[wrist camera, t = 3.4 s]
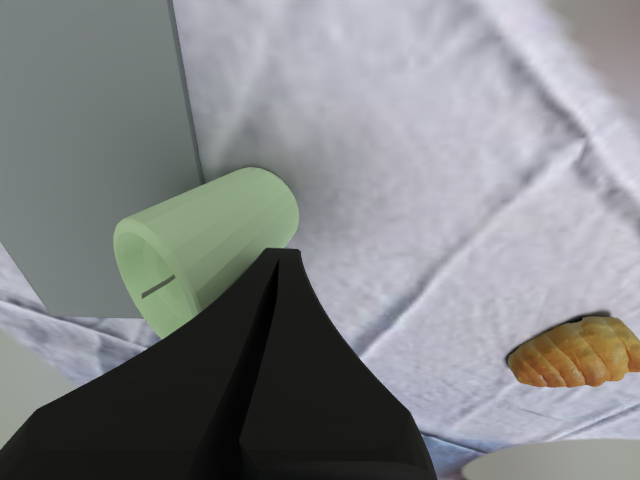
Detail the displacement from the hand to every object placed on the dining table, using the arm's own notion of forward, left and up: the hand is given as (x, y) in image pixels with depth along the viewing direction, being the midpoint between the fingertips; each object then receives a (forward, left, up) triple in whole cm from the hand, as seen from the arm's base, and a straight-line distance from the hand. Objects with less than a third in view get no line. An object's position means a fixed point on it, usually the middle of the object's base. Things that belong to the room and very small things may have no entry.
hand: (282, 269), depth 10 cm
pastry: (-13, -26, -7) cm, 30 cm away
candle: (0, +2, -6) cm, 6 cm away
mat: (0, +12, -6) cm, 13 cm away
